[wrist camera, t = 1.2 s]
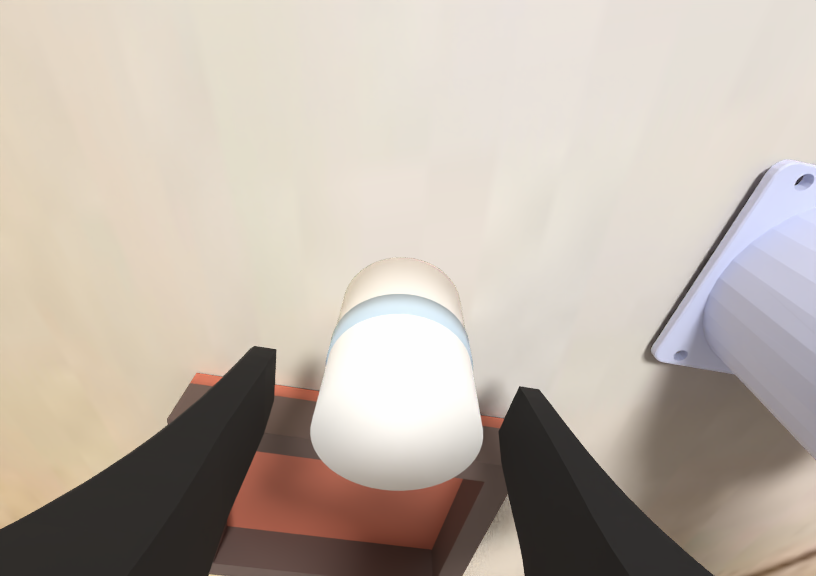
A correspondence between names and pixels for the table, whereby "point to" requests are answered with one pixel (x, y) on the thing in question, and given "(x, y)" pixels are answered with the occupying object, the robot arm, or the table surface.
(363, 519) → the lacquer tray
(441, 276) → the blue-banded white capsule
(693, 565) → the robot arm
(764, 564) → the table surface
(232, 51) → the table surface
